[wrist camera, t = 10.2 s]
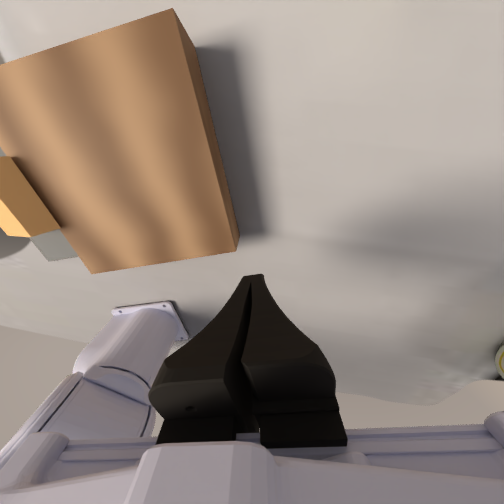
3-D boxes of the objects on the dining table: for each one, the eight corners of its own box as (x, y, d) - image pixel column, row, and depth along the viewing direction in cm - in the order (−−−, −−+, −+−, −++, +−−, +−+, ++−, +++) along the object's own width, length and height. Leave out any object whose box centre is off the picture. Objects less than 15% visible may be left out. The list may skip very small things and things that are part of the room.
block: (33, 228, 21) (8, 235, 19) (-10, 173, 18) (-43, 176, 17) (60, 228, 17) (31, 237, 15) (9, 155, 14) (-33, 158, 12)
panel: (117, 256, 23) (91, 274, 19) (21, 98, 16) (-48, 80, 12) (239, 235, 21) (235, 251, 17) (194, 46, 14) (172, 7, 10)
